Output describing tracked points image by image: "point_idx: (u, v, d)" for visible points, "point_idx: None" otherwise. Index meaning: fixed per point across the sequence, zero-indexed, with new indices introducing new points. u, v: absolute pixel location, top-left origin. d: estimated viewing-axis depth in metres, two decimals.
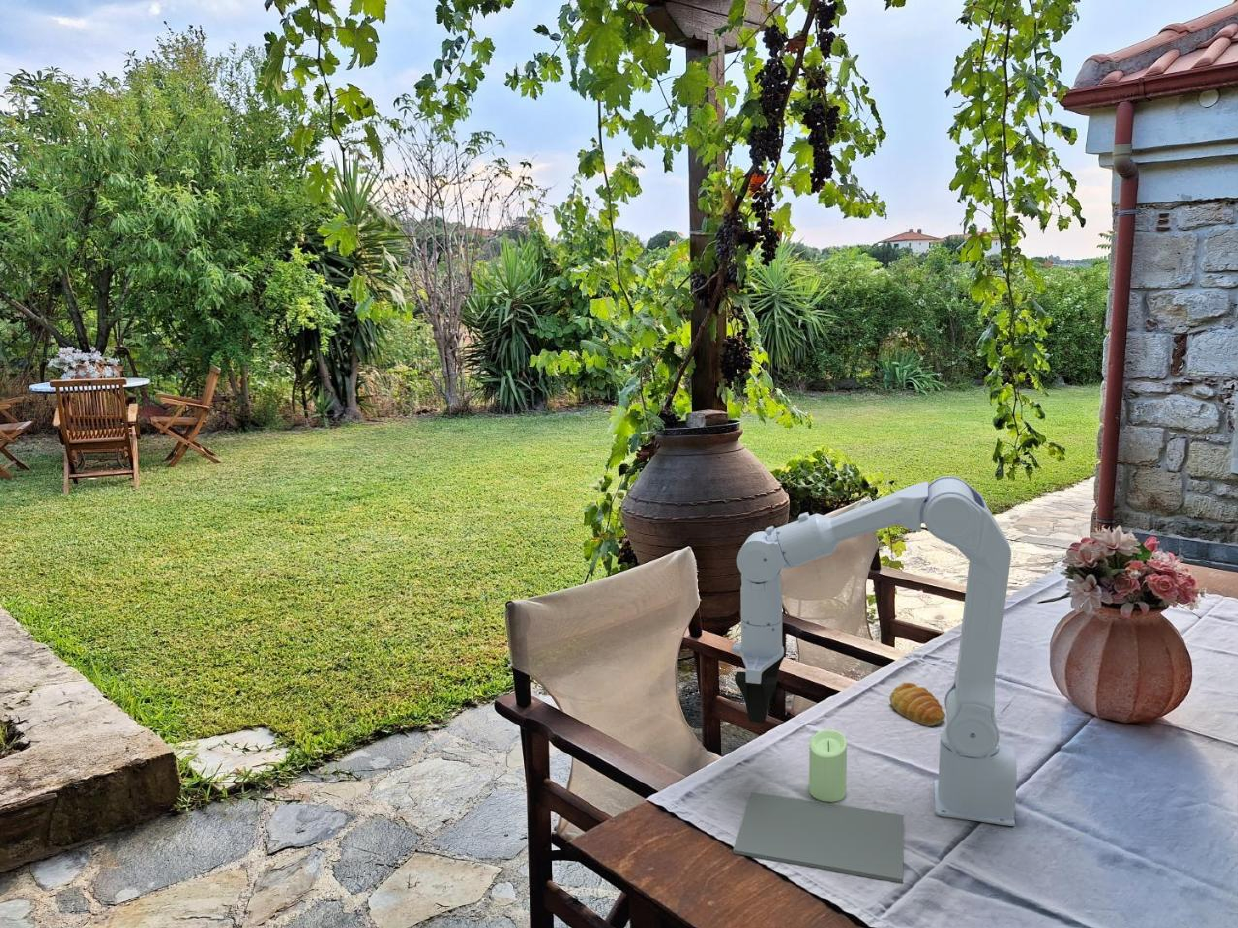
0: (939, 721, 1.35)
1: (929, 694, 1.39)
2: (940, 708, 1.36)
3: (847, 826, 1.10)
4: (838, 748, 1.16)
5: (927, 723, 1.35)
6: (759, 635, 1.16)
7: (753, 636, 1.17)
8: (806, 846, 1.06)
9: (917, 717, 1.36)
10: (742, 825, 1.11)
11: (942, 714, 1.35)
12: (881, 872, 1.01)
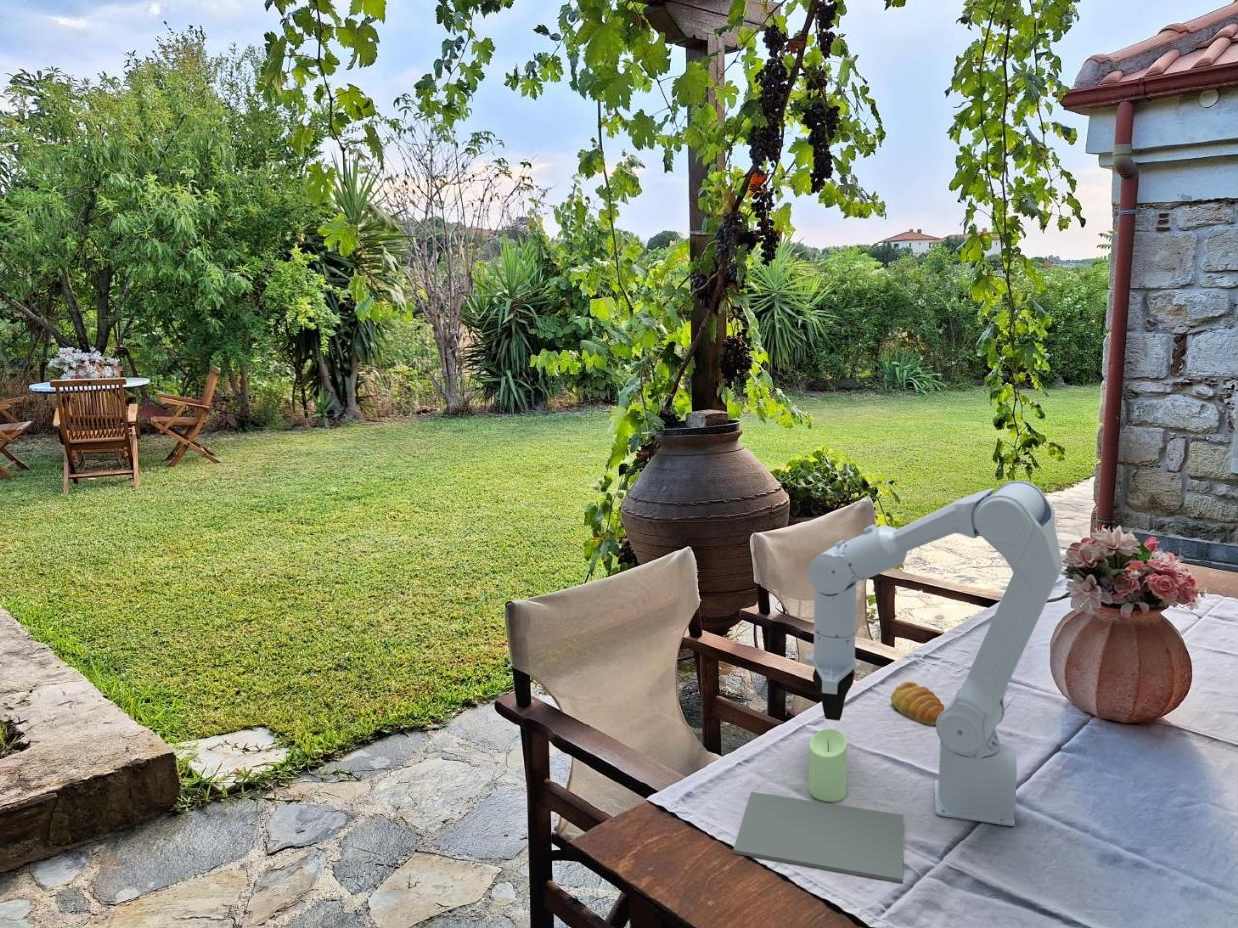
0: None
1: (930, 693, 1.39)
2: (942, 707, 1.36)
3: (847, 826, 1.10)
4: (838, 748, 1.16)
5: (929, 722, 1.35)
6: (833, 646, 1.20)
7: (828, 647, 1.20)
8: (806, 846, 1.06)
9: (919, 717, 1.36)
10: (742, 825, 1.11)
11: None
12: (881, 872, 1.01)
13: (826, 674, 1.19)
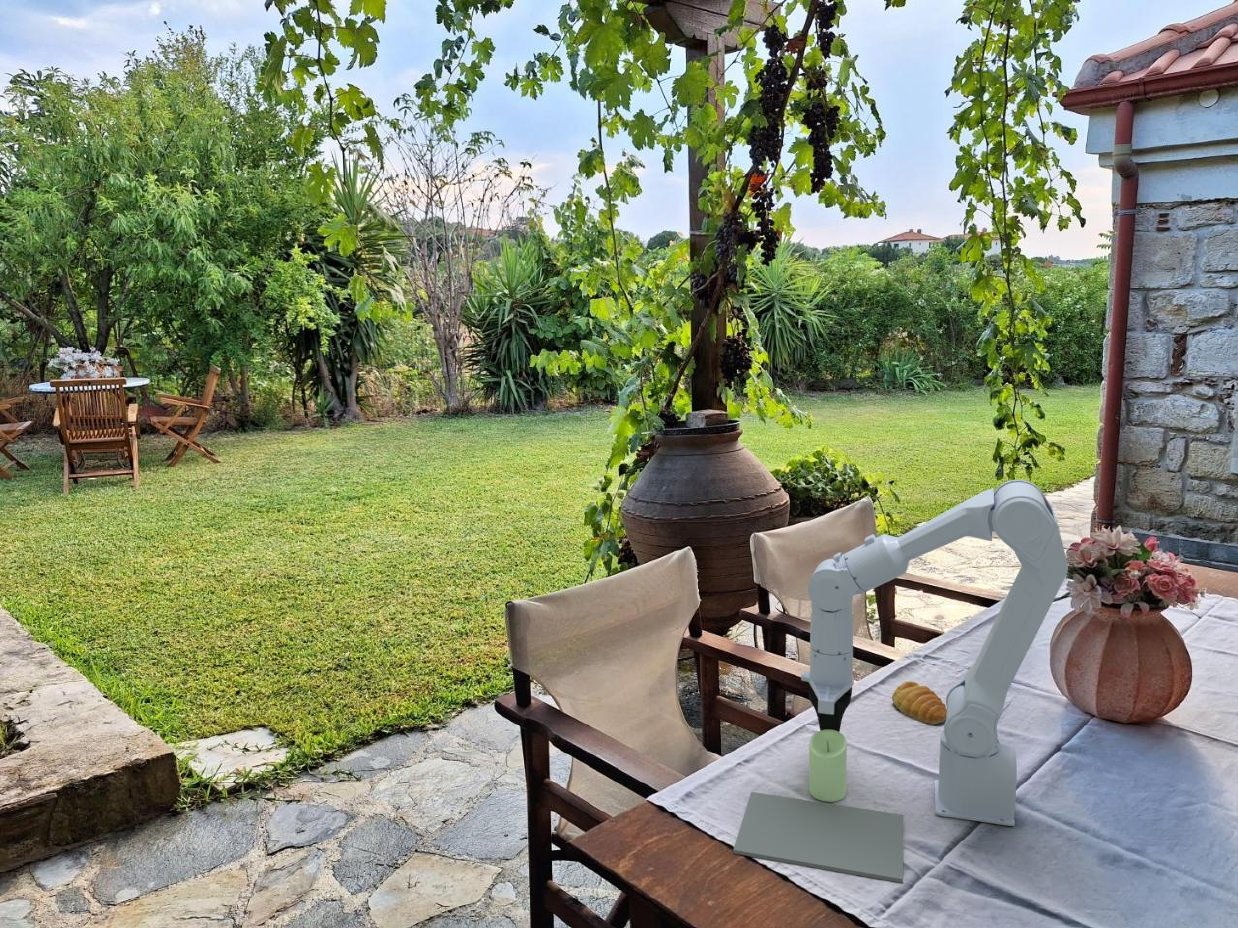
0: (943, 719, 1.35)
1: (932, 692, 1.39)
2: (943, 706, 1.37)
3: (847, 826, 1.10)
4: (838, 748, 1.16)
5: (931, 722, 1.35)
6: (830, 664, 1.15)
7: (824, 664, 1.15)
8: (806, 846, 1.06)
9: (921, 716, 1.36)
10: (742, 825, 1.11)
11: (946, 712, 1.35)
12: (881, 872, 1.01)
13: (822, 693, 1.14)
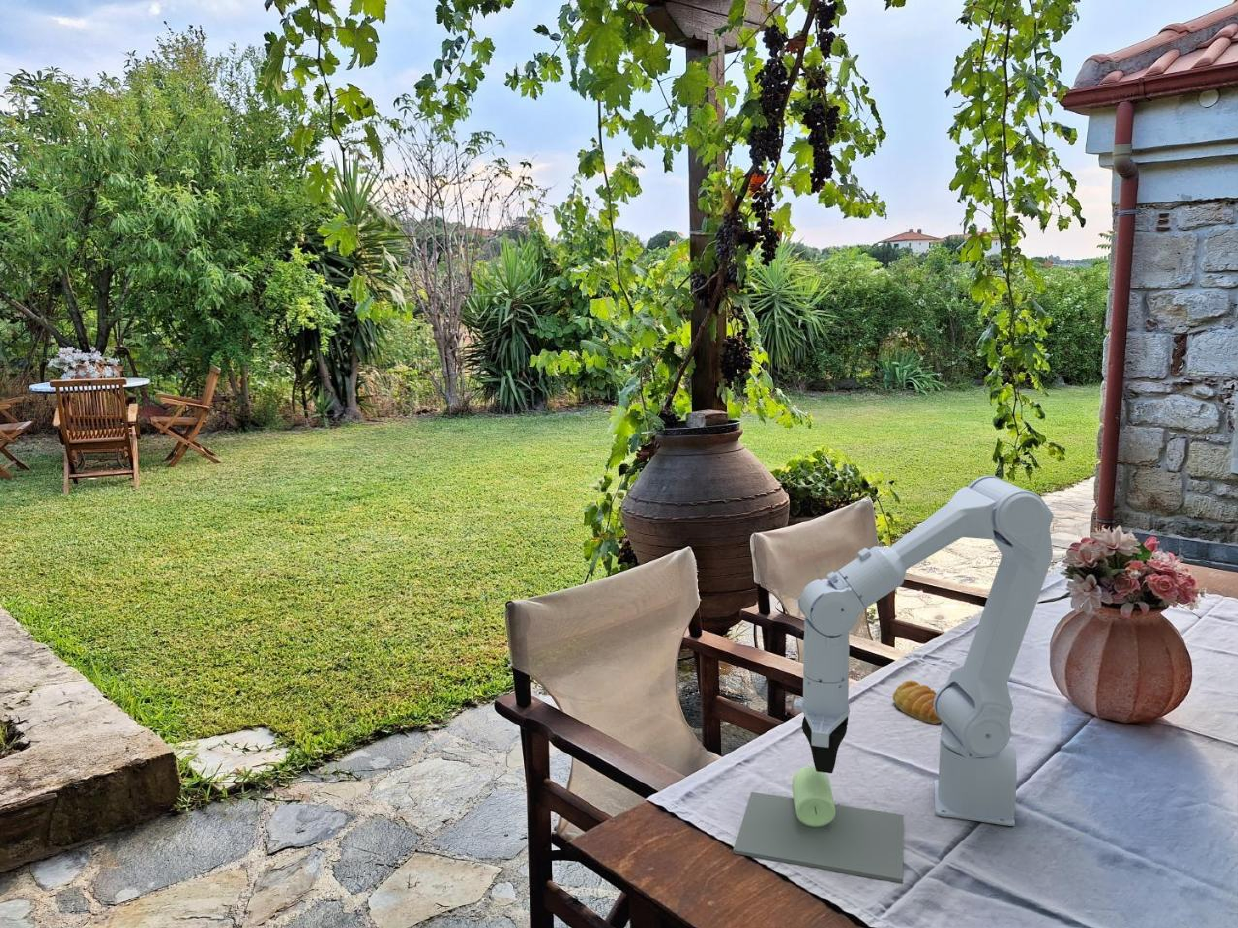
0: None
1: (932, 692, 1.40)
2: None
3: (847, 826, 1.10)
4: (825, 806, 1.09)
5: (932, 721, 1.35)
6: (825, 693, 1.07)
7: (818, 693, 1.07)
8: (806, 846, 1.06)
9: (922, 715, 1.36)
10: (742, 825, 1.11)
11: None
12: (881, 872, 1.01)
13: (816, 724, 1.06)
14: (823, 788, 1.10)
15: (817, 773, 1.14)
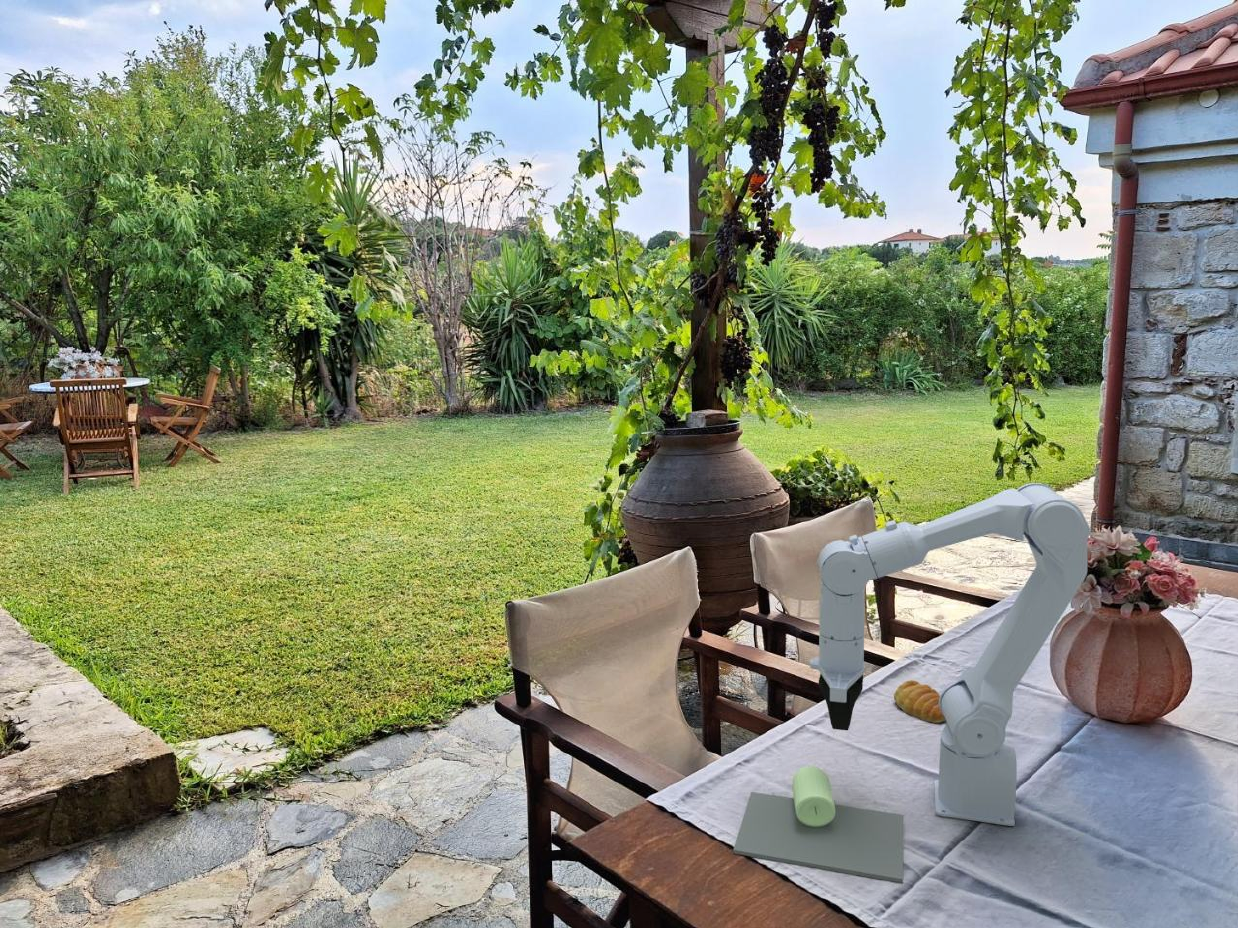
0: None
1: (933, 691, 1.40)
2: None
3: (847, 826, 1.10)
4: (825, 806, 1.09)
5: (934, 720, 1.35)
6: (841, 650, 1.10)
7: (835, 651, 1.10)
8: (806, 846, 1.06)
9: (924, 715, 1.36)
10: (742, 825, 1.11)
11: None
12: (881, 872, 1.01)
13: (834, 681, 1.09)
14: (823, 788, 1.10)
15: (817, 773, 1.14)
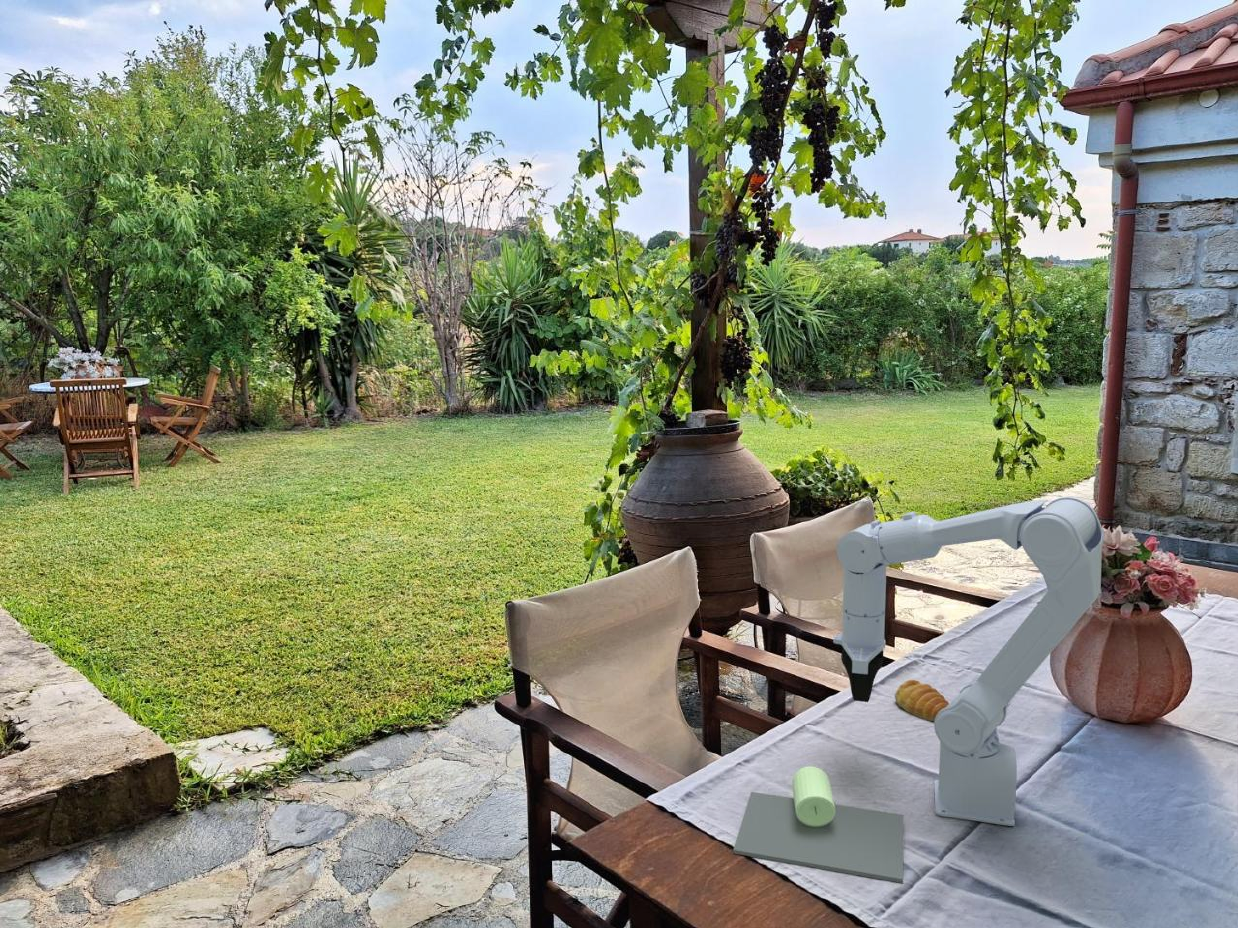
0: None
1: (934, 690, 1.40)
2: (947, 704, 1.37)
3: (847, 826, 1.10)
4: (825, 806, 1.09)
5: None
6: (863, 626, 1.17)
7: (857, 626, 1.18)
8: (806, 846, 1.06)
9: (925, 714, 1.37)
10: (742, 825, 1.11)
11: None
12: (881, 872, 1.01)
13: (856, 654, 1.16)
14: (823, 788, 1.10)
15: (817, 773, 1.14)
